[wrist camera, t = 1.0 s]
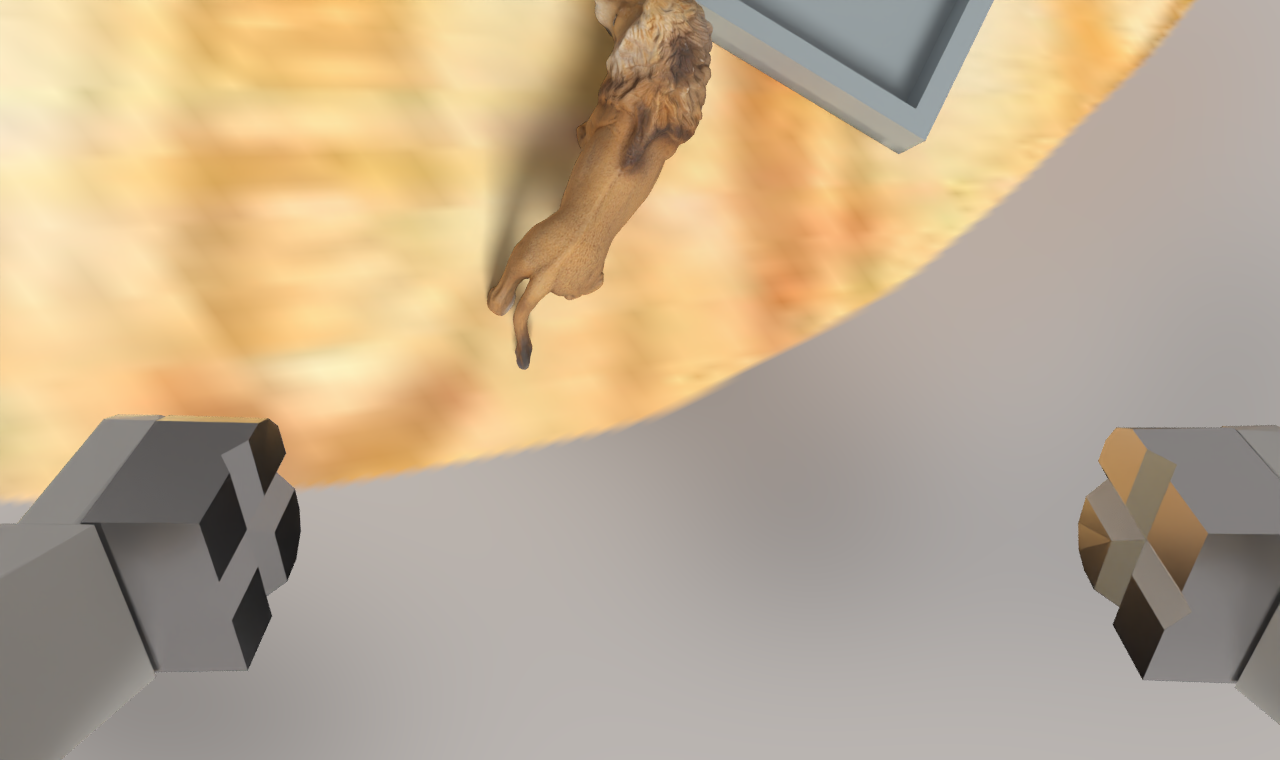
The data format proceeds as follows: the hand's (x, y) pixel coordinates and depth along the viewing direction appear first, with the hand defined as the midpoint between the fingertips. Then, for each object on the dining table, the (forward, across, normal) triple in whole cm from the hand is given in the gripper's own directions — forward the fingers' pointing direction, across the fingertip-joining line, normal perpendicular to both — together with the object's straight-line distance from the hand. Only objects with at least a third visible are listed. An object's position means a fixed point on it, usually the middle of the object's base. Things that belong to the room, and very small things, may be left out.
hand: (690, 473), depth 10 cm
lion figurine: (+31, +3, +10) cm, 33 cm away
